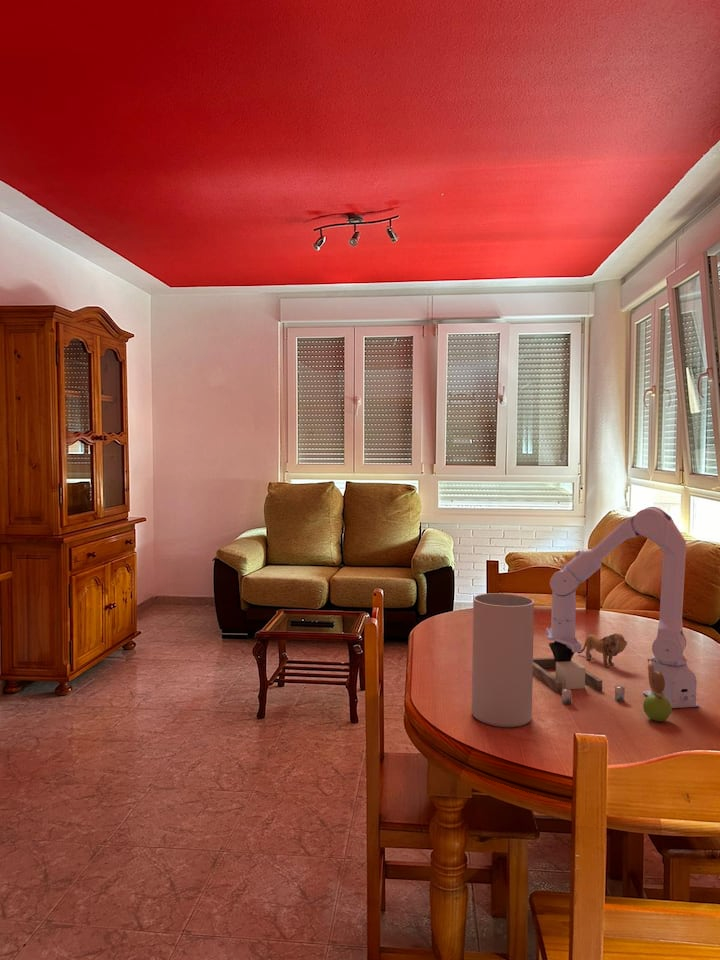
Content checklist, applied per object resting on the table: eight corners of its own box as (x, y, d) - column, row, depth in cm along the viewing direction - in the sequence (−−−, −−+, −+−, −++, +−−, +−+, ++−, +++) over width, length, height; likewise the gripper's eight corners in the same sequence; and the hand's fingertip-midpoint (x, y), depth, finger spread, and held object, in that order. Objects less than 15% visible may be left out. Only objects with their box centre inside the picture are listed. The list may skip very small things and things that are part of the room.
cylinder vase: (459, 715, 135) (461, 599, 135) (492, 700, 144) (494, 591, 143) (510, 734, 126) (513, 609, 126) (542, 717, 135) (545, 600, 134)
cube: (584, 688, 153) (585, 667, 153) (565, 689, 152) (566, 668, 152) (574, 680, 158) (574, 660, 158) (555, 682, 157) (555, 661, 157)
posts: (626, 701, 144) (626, 688, 144) (564, 705, 142) (564, 691, 142) (621, 698, 146) (621, 685, 146) (560, 701, 144) (560, 688, 144)
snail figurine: (660, 713, 138) (662, 658, 138) (676, 725, 132) (677, 667, 131) (636, 713, 138) (637, 658, 138) (650, 725, 131) (651, 667, 131)
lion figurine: (630, 667, 169) (630, 634, 168) (617, 671, 166) (618, 636, 165) (583, 653, 181) (583, 621, 180) (570, 656, 178) (571, 624, 178)
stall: (602, 690, 151) (602, 680, 151) (557, 693, 149) (557, 682, 149) (564, 666, 169) (565, 656, 169) (524, 668, 167) (524, 658, 167)
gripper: (535, 611, 165) (534, 663, 165) (562, 626, 150) (561, 683, 151) (561, 611, 166) (559, 662, 166) (590, 625, 152) (588, 682, 152)
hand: (562, 672), depth 159 cm, fingers closed
